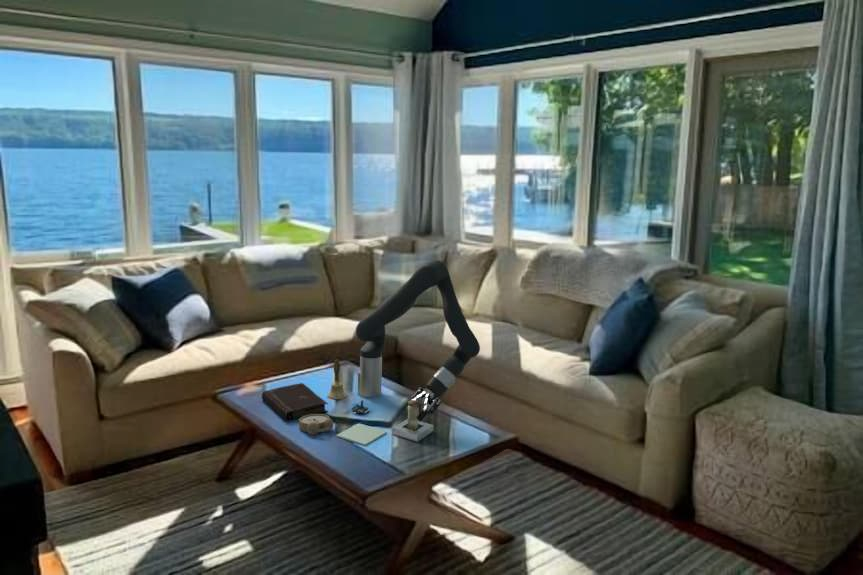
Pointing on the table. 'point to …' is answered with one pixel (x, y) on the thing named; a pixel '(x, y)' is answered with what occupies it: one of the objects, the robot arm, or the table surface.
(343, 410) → the table surface
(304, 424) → the alarm clock
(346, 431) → the tile
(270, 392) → the diary
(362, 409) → the beaded bracelet pile
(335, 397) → the hand bell
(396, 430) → the block
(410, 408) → the peg
